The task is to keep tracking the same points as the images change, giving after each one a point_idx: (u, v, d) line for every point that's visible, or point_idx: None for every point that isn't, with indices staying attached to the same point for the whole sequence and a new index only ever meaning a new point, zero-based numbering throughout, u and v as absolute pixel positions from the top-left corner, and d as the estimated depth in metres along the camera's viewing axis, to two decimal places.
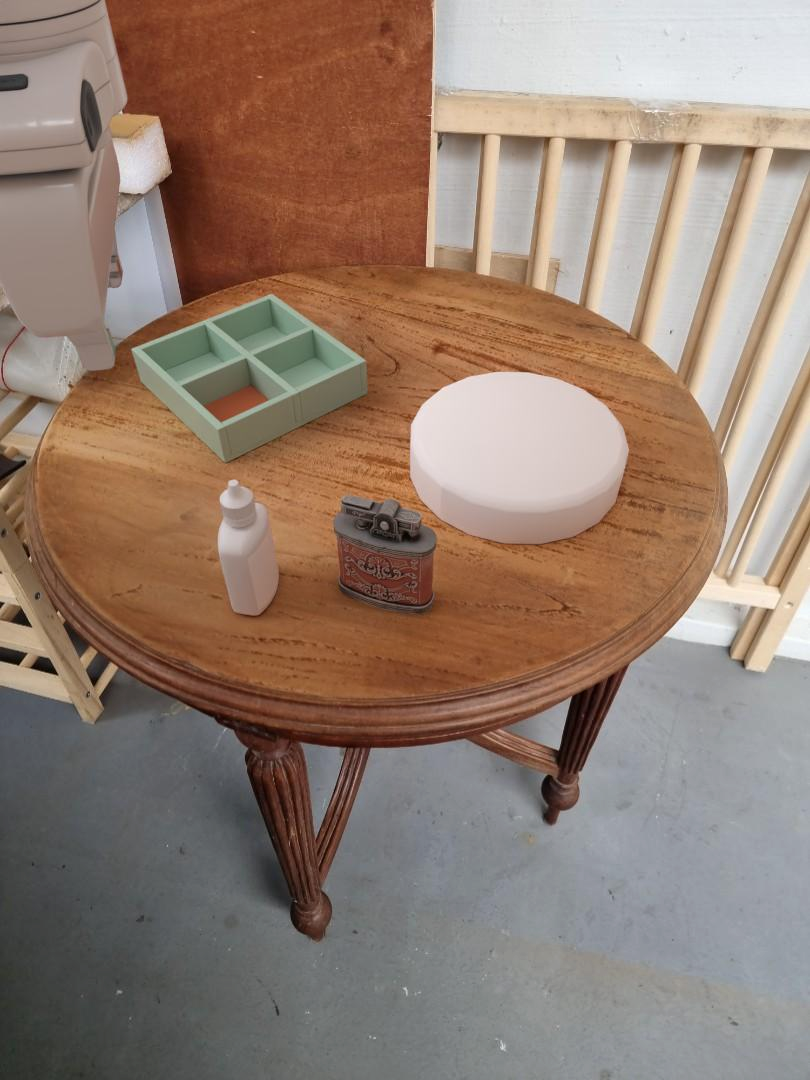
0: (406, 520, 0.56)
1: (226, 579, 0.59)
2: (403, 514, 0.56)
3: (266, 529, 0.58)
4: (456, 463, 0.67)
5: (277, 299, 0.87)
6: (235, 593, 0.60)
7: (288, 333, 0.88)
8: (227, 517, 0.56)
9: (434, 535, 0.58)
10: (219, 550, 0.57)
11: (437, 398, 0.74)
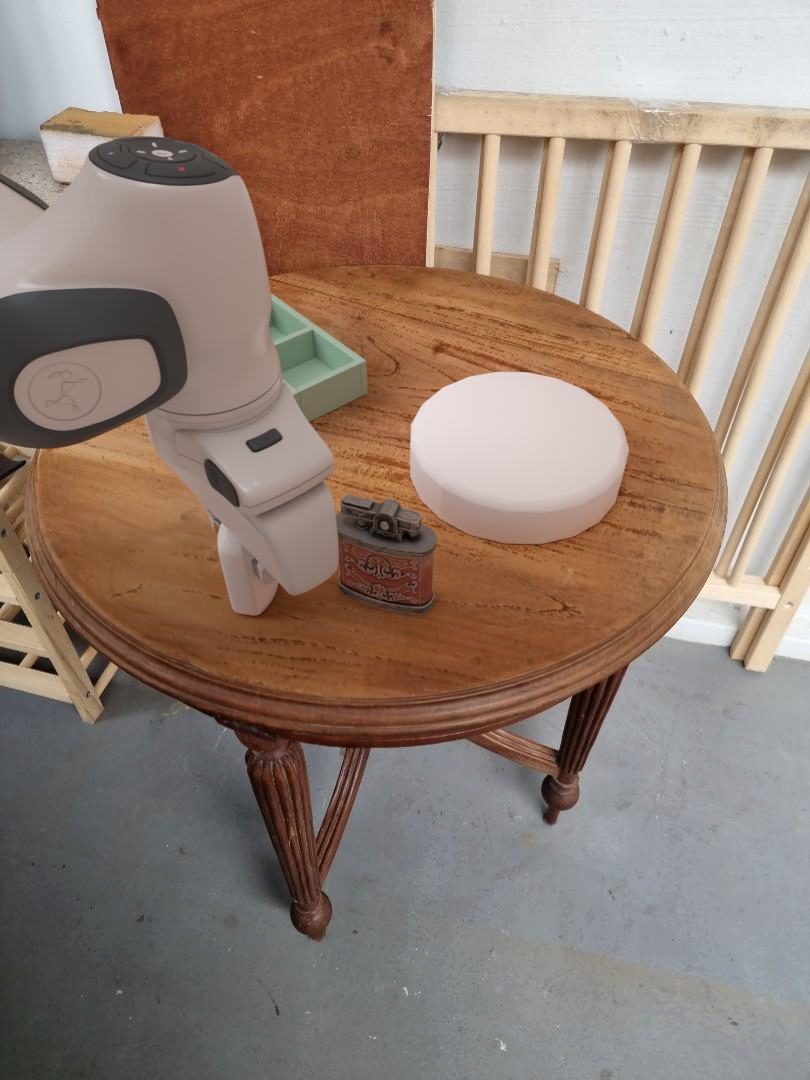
0: (406, 520, 0.56)
1: (226, 579, 0.59)
2: (403, 514, 0.56)
3: None
4: (456, 463, 0.67)
5: (277, 299, 0.87)
6: (235, 593, 0.60)
7: (288, 333, 0.88)
8: None
9: (434, 535, 0.58)
10: (219, 550, 0.57)
11: (437, 398, 0.74)
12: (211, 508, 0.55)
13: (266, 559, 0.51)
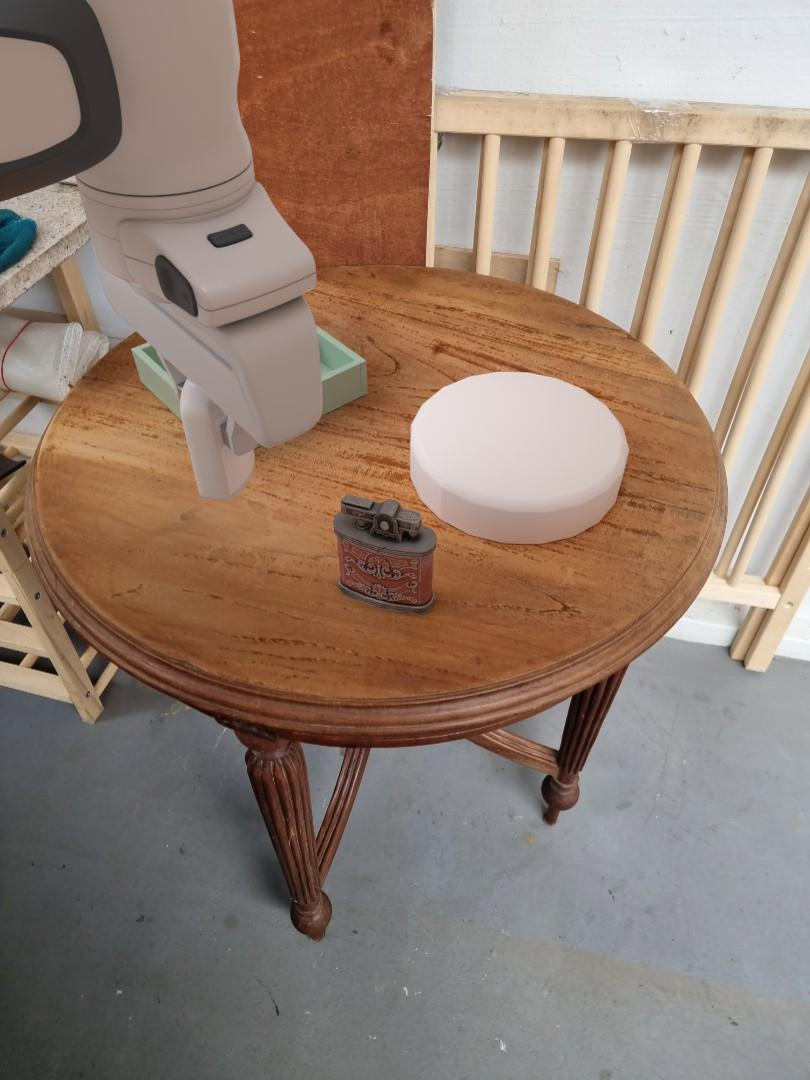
0: (406, 520, 0.56)
1: (191, 451, 0.50)
2: (403, 514, 0.56)
3: None
4: (456, 463, 0.67)
5: None
6: (201, 470, 0.51)
7: None
8: None
9: (434, 535, 0.58)
10: (181, 411, 0.48)
11: (437, 398, 0.74)
12: (171, 357, 0.47)
13: (234, 403, 0.42)
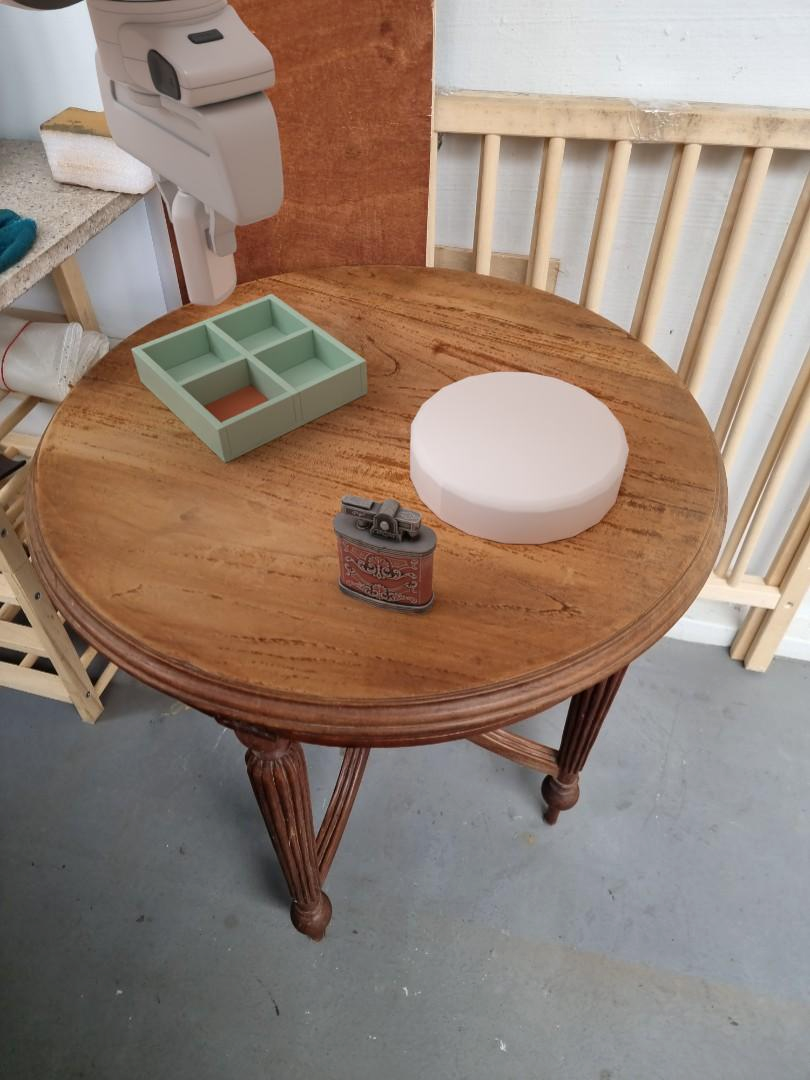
0: (406, 520, 0.56)
1: (181, 255, 0.60)
2: (403, 514, 0.56)
3: None
4: (456, 463, 0.67)
5: (277, 299, 0.87)
6: (190, 274, 0.61)
7: (288, 333, 0.88)
8: None
9: (434, 535, 0.58)
10: (173, 216, 0.58)
11: (437, 398, 0.74)
12: (164, 168, 0.57)
13: (213, 189, 0.53)
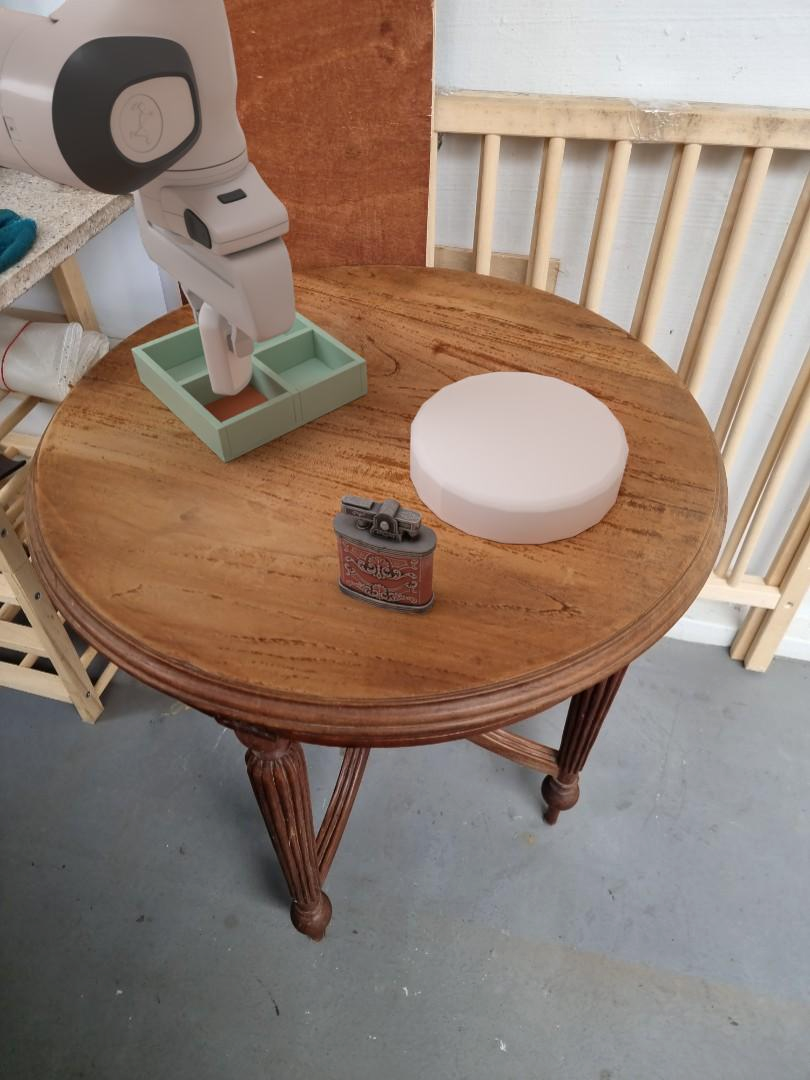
0: (406, 520, 0.56)
1: (206, 355, 0.70)
2: (403, 514, 0.56)
3: None
4: (456, 463, 0.67)
5: None
6: (214, 371, 0.71)
7: (288, 333, 0.88)
8: None
9: (434, 535, 0.58)
10: (200, 325, 0.68)
11: (437, 398, 0.74)
12: (192, 286, 0.67)
13: (236, 312, 0.63)
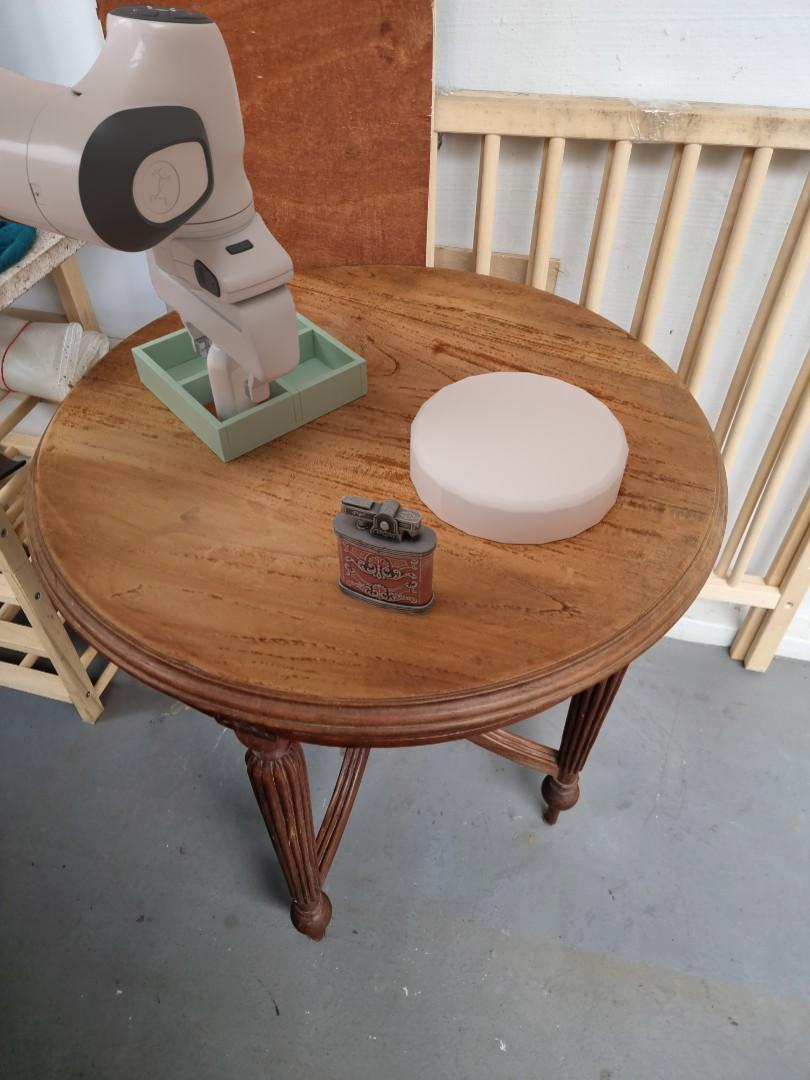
0: (406, 520, 0.56)
1: (214, 394, 0.73)
2: (403, 514, 0.56)
3: None
4: (456, 463, 0.67)
5: None
6: (221, 408, 0.74)
7: None
8: None
9: (434, 535, 0.58)
10: (208, 366, 0.71)
11: (437, 398, 0.74)
12: (200, 326, 0.70)
13: (243, 354, 0.66)
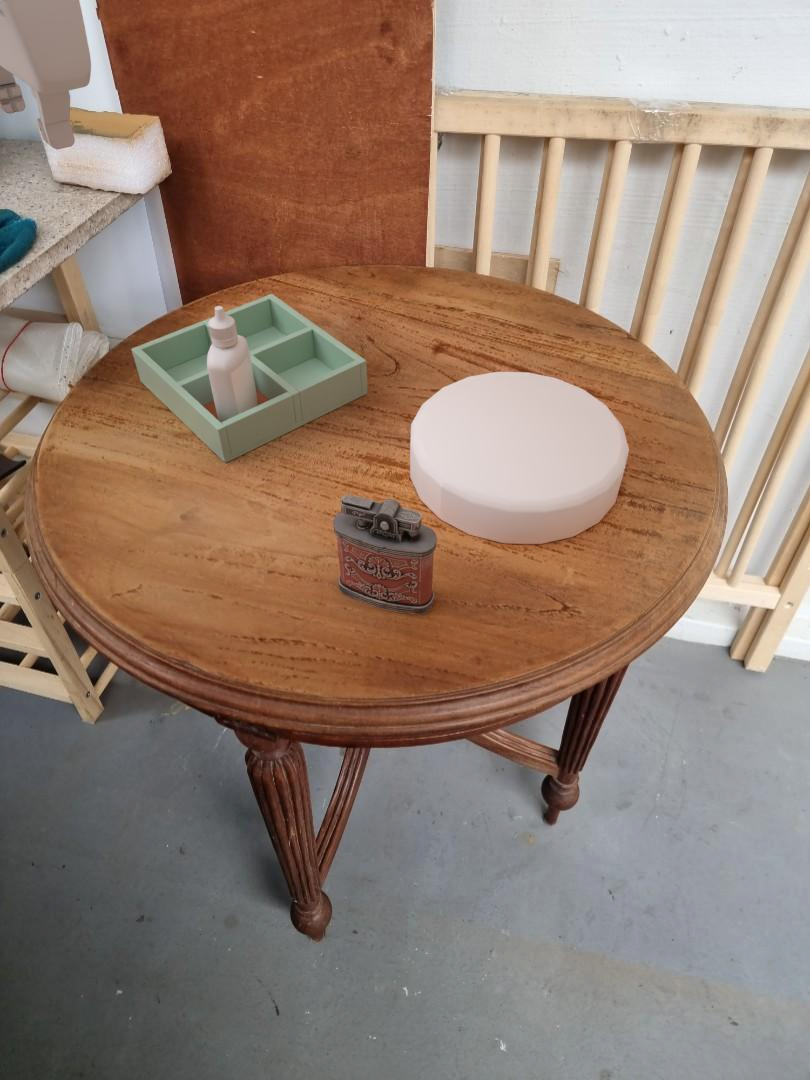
0: (406, 520, 0.56)
1: (214, 394, 0.73)
2: (403, 514, 0.56)
3: (246, 354, 0.73)
4: (456, 463, 0.67)
5: (277, 299, 0.87)
6: (221, 408, 0.74)
7: (288, 333, 0.88)
8: (214, 338, 0.70)
9: (434, 535, 0.58)
10: (208, 366, 0.71)
11: (437, 398, 0.74)
12: None
13: (16, 55, 0.50)
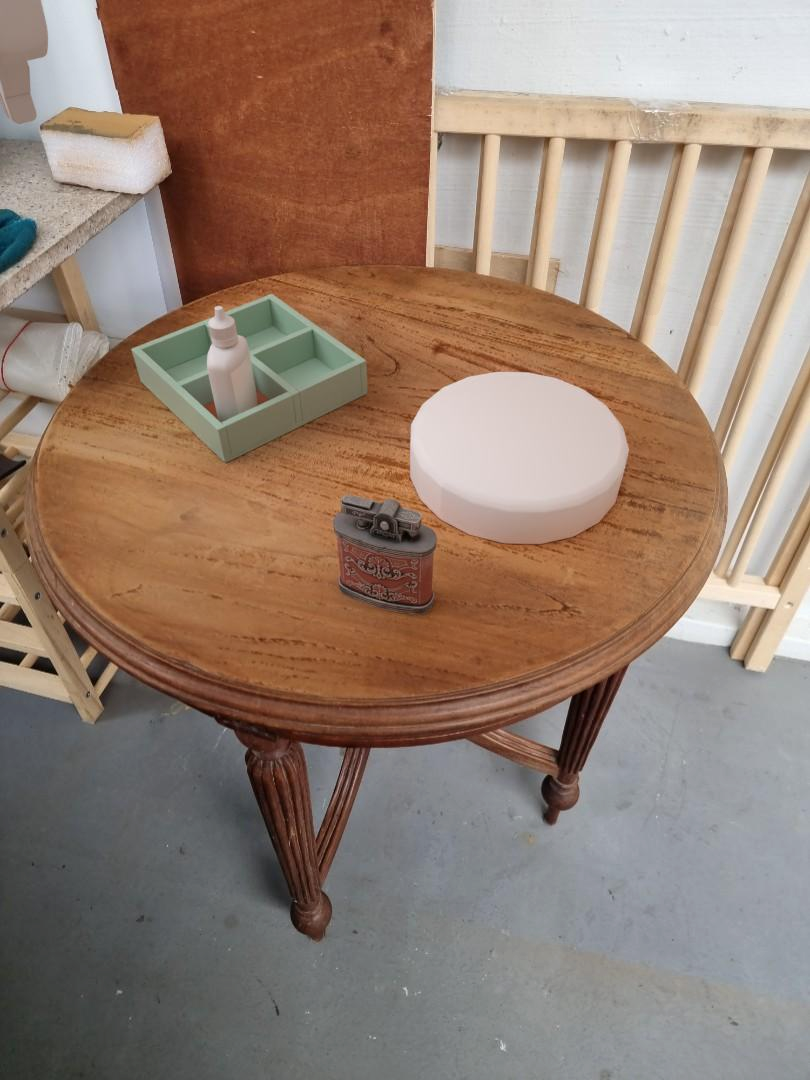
0: (406, 520, 0.56)
1: (214, 394, 0.73)
2: (403, 514, 0.56)
3: (246, 354, 0.73)
4: (456, 463, 0.67)
5: (277, 299, 0.87)
6: (221, 408, 0.74)
7: (288, 333, 0.88)
8: (214, 338, 0.70)
9: (434, 535, 0.58)
10: (208, 366, 0.71)
11: (437, 398, 0.74)
12: None
13: None
